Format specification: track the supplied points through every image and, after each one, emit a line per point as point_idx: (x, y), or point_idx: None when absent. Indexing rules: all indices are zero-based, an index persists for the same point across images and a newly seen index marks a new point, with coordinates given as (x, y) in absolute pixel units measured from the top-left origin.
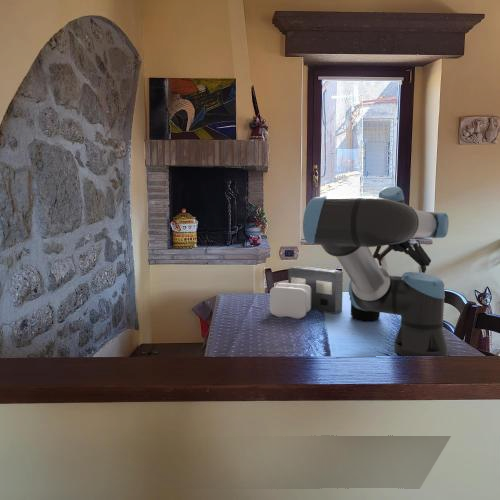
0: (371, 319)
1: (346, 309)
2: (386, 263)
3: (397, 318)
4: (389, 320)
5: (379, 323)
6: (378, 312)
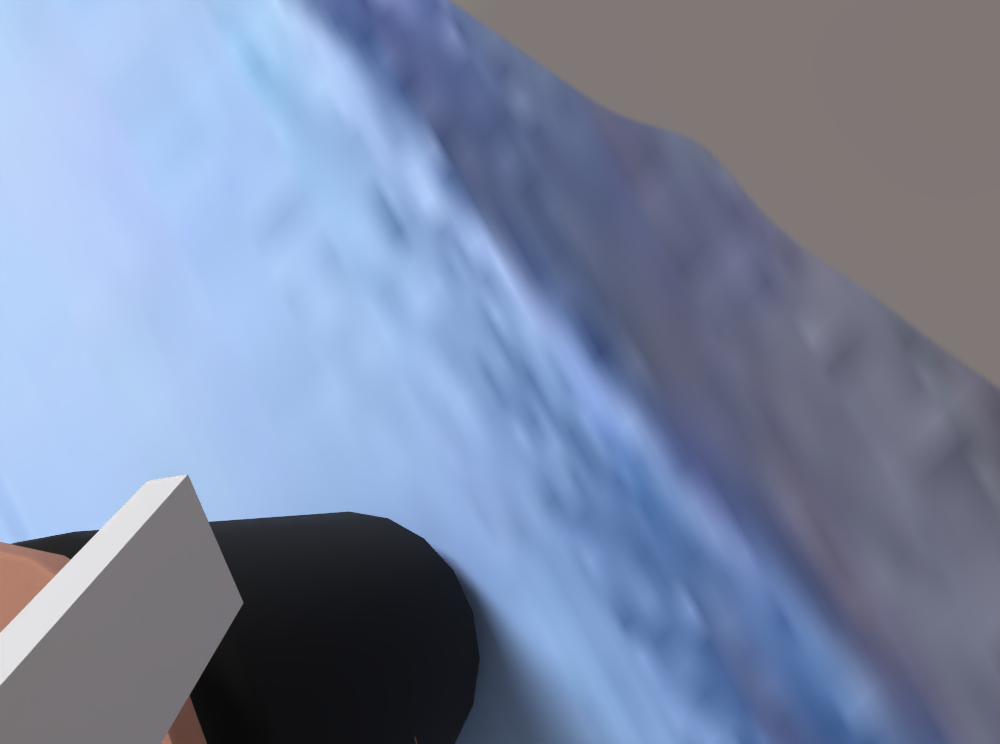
0: (457, 735)
1: (113, 497)
2: (73, 611)
3: (575, 434)
4: (556, 551)
5: (540, 715)
6: (461, 651)
